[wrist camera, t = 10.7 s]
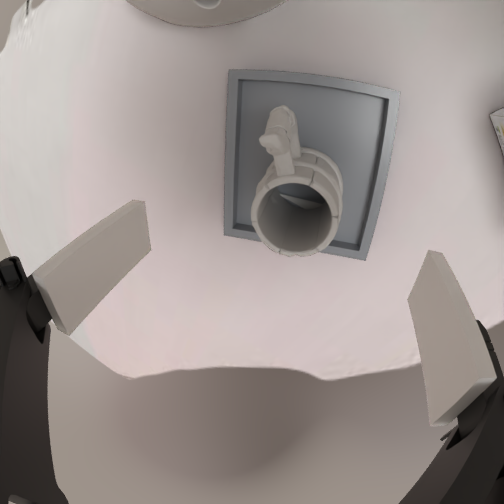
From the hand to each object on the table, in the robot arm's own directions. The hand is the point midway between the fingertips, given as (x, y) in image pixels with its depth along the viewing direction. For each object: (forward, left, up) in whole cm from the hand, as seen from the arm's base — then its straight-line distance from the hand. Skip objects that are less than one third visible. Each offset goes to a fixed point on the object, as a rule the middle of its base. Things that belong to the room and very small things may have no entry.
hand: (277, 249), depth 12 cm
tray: (0, 0, -19) cm, 19 cm away
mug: (0, -1, -18) cm, 18 cm away
